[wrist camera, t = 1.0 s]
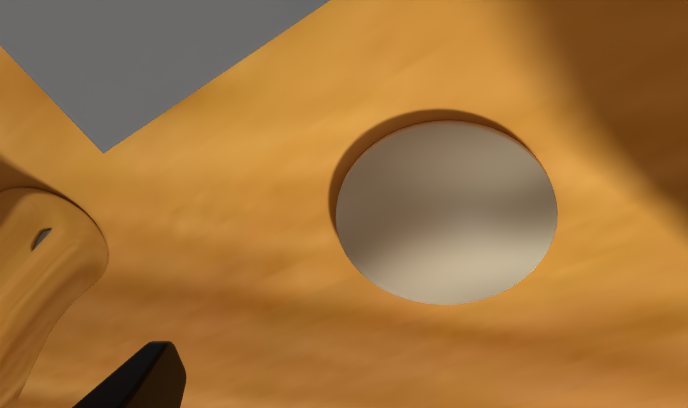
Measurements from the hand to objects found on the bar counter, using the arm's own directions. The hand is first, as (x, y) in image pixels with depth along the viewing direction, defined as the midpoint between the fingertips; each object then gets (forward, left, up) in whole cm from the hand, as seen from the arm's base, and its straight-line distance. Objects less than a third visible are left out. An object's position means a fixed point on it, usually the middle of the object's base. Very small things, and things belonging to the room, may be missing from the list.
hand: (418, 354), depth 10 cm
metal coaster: (-6, +2, -13) cm, 14 cm away
